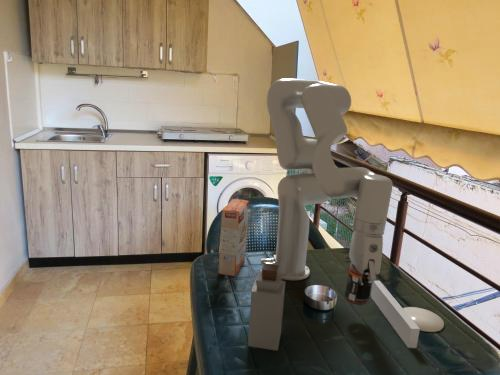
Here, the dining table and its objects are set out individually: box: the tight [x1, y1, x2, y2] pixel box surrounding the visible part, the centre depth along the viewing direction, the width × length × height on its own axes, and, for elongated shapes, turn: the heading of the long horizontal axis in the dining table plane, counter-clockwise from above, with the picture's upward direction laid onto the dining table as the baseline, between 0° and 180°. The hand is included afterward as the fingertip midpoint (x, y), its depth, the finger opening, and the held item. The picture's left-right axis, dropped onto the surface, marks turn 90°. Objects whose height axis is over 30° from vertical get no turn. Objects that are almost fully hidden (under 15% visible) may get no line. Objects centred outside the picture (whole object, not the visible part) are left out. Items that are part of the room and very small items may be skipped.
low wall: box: [370, 280, 420, 349], centre depth 106 cm, size 2×24×5 cm, turn 5°
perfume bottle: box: [247, 264, 286, 351], centre depth 93 cm, size 7×7×18 cm
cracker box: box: [217, 198, 250, 277], centre depth 129 cm, size 14×6×21 cm, turn 168°
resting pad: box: [402, 306, 445, 333], centre depth 107 cm, size 11×11×1 cm
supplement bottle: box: [344, 264, 369, 306], centre depth 104 cm, size 6×6×11 cm
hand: (357, 290), depth 105 cm, fingers closed on supplement bottle, 6 cm apart
